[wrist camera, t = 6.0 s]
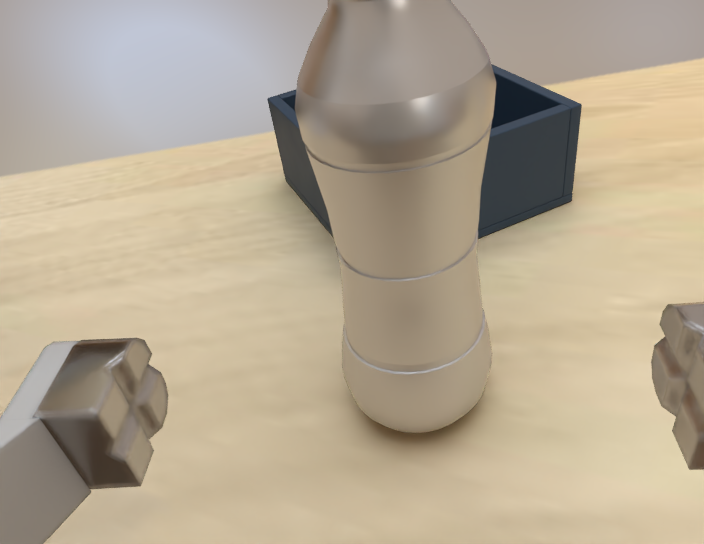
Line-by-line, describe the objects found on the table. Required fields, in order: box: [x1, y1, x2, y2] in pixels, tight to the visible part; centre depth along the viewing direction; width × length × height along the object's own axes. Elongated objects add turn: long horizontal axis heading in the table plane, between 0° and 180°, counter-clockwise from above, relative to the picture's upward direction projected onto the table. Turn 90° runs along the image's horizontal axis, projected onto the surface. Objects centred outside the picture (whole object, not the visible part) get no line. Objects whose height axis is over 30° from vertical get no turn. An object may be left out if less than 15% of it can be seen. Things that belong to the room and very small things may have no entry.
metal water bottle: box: [295, 0, 496, 433], centre depth 23 cm, size 6×7×20 cm
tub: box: [268, 64, 582, 238], centre depth 41 cm, size 15×15×7 cm
